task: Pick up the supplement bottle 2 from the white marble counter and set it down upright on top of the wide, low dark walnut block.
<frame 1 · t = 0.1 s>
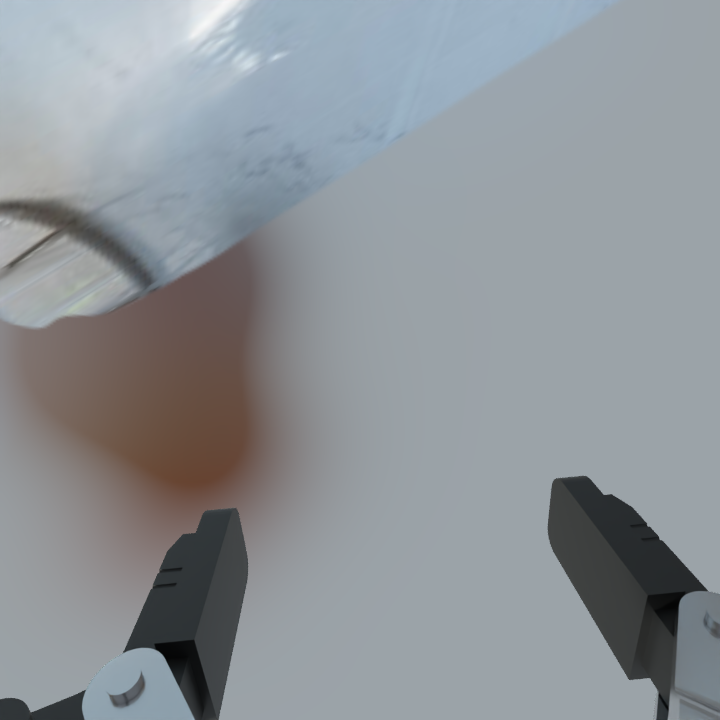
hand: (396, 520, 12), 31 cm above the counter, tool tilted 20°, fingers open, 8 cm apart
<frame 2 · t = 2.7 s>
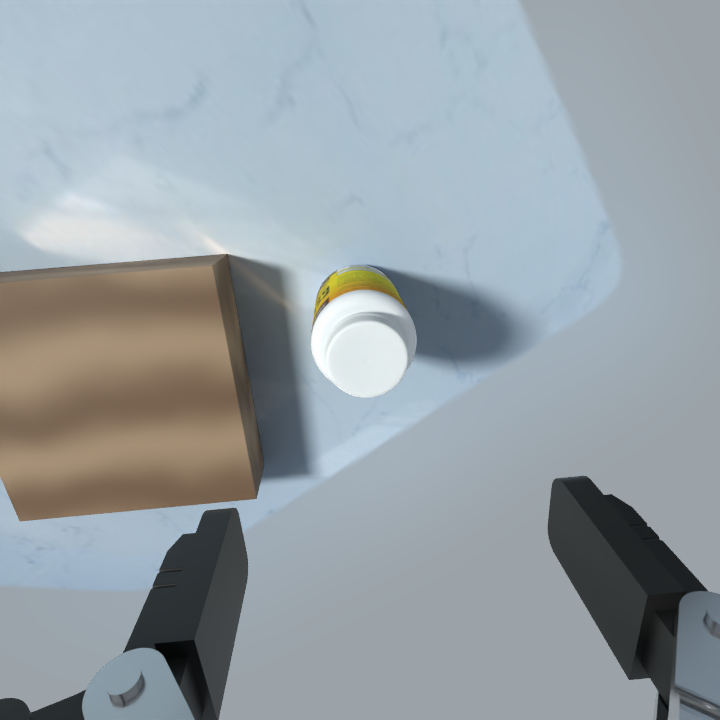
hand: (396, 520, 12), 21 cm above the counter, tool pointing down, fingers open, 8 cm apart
walnut block: (132, 379, 32), on the counter
supplement bottle 2: (356, 303, 32), on the counter
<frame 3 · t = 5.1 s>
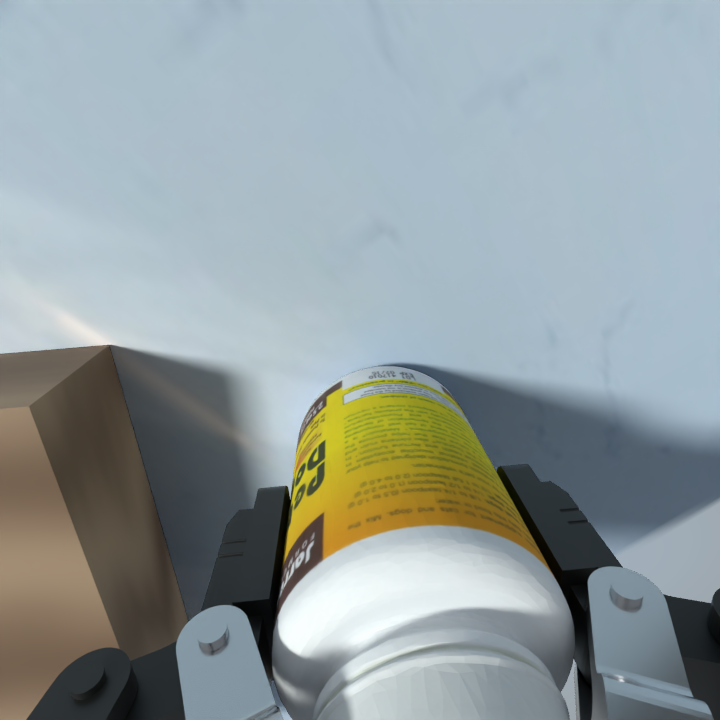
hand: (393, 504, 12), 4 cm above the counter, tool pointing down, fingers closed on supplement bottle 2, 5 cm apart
supplement bottle 2: (380, 433, 16), on the counter, touching gripper
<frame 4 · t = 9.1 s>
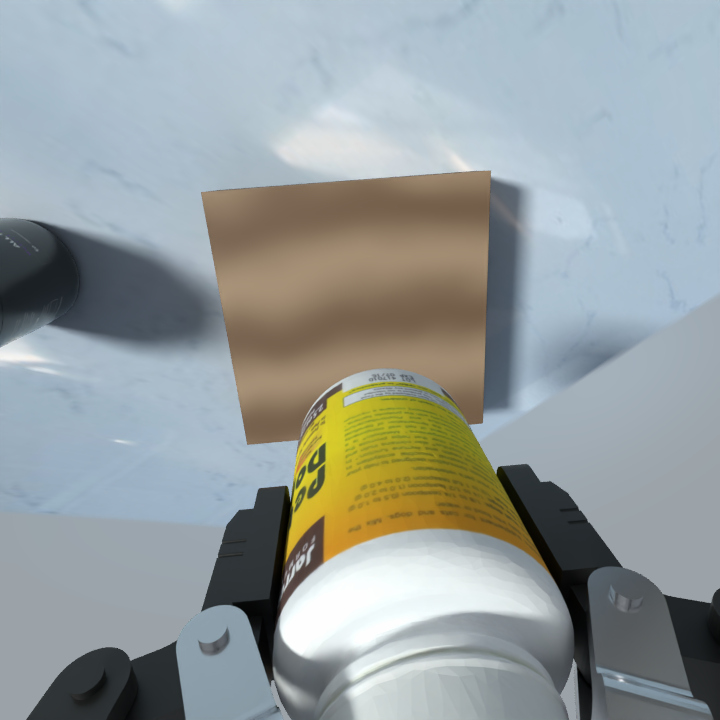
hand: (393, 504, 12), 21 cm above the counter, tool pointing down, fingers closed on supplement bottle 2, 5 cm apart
supplement bottle: (29, 270, 30), on the counter
walnut block: (354, 304, 32), on the counter
supplement bottle 2: (380, 435, 16), point 18 cm above the counter, touching gripper
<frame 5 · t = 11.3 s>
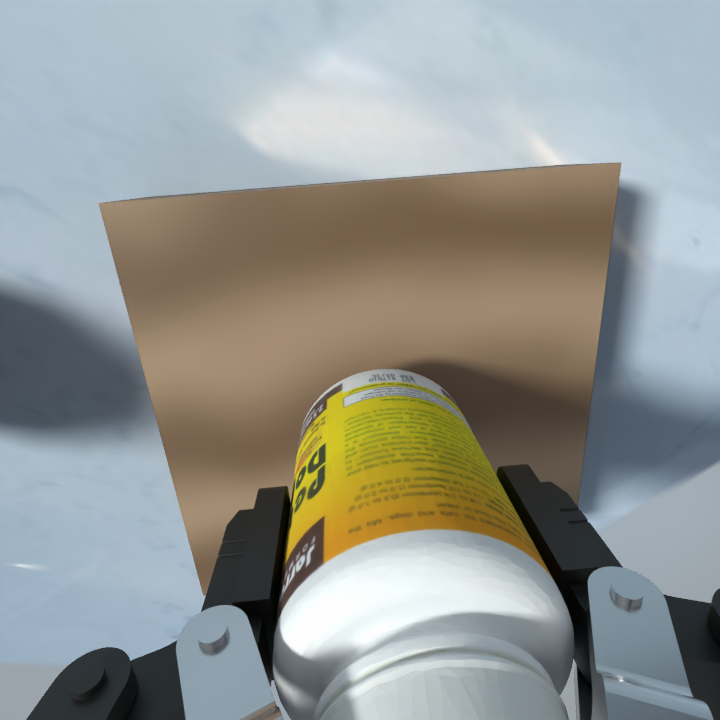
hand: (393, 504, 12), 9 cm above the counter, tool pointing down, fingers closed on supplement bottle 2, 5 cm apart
walnut block: (370, 371, 21), on the counter
supplement bottle 2: (380, 435, 16), point 5 cm above the counter, touching gripper
when the fingers open (8 cm above the counter, at t = 13.0 s): supplement bottle 2 stays where it is, resting on walnut block.
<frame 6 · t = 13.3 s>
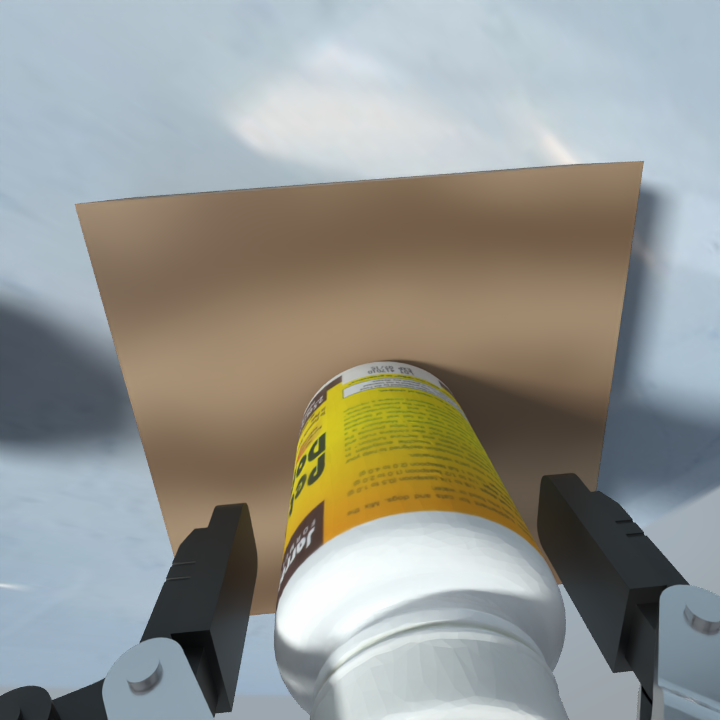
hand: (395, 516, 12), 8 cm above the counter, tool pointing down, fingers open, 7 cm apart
walnut block: (370, 382, 20), on the counter
supplement bottle 2: (379, 427, 16), point 4 cm above the counter, touching walnut block
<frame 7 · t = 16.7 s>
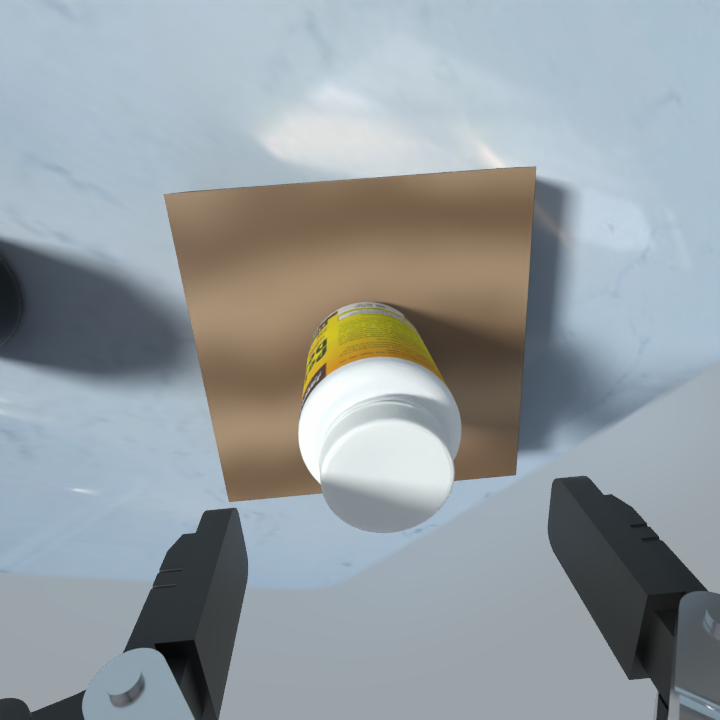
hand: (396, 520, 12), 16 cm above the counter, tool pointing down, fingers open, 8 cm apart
walnut block: (359, 329, 27), on the counter
supplement bottle 2: (364, 352, 23), point 4 cm above the counter, touching walnut block
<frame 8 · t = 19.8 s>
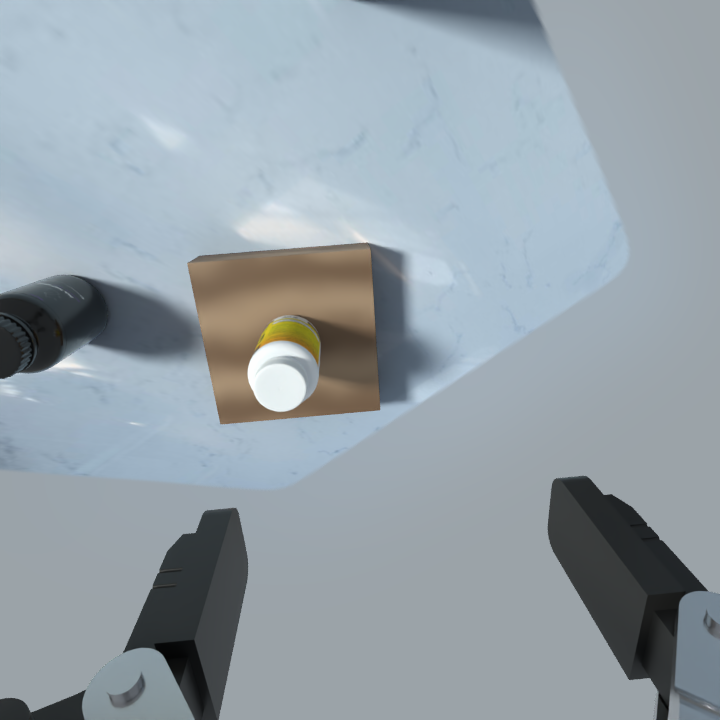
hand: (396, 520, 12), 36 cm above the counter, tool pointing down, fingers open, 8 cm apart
supplement bottle: (74, 307, 46), on the counter
walnut block: (293, 329, 47), on the counter
supplement bottle 2: (291, 341, 44), point 4 cm above the counter, touching walnut block
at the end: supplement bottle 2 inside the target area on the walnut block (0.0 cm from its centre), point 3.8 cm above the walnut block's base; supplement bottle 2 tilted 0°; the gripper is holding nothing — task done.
